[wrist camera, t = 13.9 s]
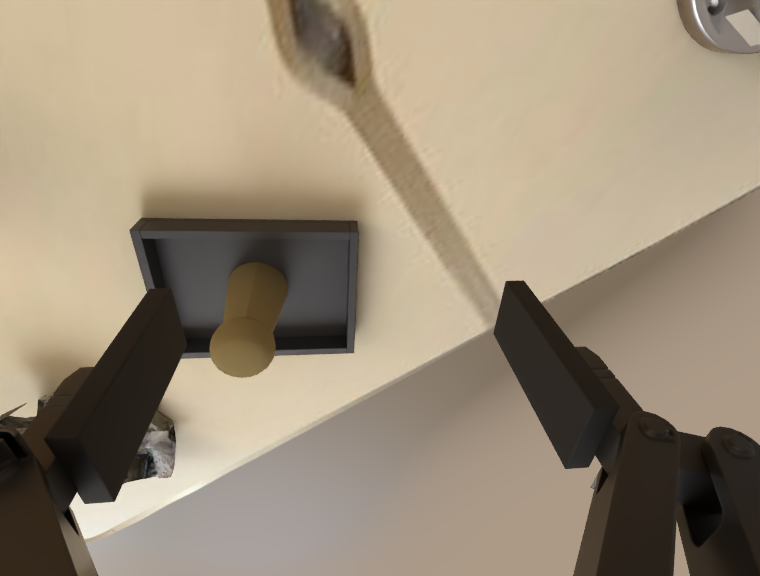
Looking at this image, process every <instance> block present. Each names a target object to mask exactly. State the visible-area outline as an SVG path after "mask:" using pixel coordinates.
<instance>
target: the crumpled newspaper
mask: <svg viewBox="0 0 760 576" xmlns="http://www.w3.org/2000/svg"><path fill="white" fill-rule="evenodd" d="M45 396H47V395H45ZM45 396H44V397H45ZM50 398H51V397H50V396H49V397H48V398H47V401H48V400H49V399H50ZM47 401H45V400H40V399H38V410H37V415H38V413H39V412H40V411H41V409H42V408H45V404H46V403H47ZM25 404H26V403H25ZM25 404H23V405H25ZM23 405H21V406H19V407H17V408H15V409H13V410H11V411H9V412H7V413H5V414H3V415H1V416H0V427H1V426H9V427H14V428H16V430H17V431H18V432H19V433H20V434H21V435H22V434H23V433H24V431H25V430H26V429H27V428H28V426H29V425H30V424H31V422H32V421H33V420H34V418H35V417H29V418H21V417H13V416H8V415H10V414H11V413H13V412H14V411H16V410H17V409H19V408H20V407H22V406H23ZM175 448H176V437H175V430H174V424H173V422H172V421H171V420H170V419H167V418H166V417H165V416H163V415H162V414H161V413H159V412H158V411H156V413H155V415H154V417H153V419H152V422H151V424H150V426H149V428H148V430H147V432H146V435H145V437H144V439H143V441H142V443H141V445H140V448H139V450H138V452H137V454H136V456H135V458H134V461H133V463H132V465H131V467H130V469H129V471H128V474H127V476H126V478H125V480H124V482H123V484H124V483H126V482H130V481H135V480H140V479H146V478H150V477H159V478H168V477H171V475H172V473H173V469H174V464H175Z"/></svg>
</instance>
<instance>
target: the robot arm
mask: <svg viewBox="0 0 760 576" xmlns="http://www.w3.org/2000/svg"><path fill="white" fill-rule="evenodd" d="M677 5H678V10H679V13H680V17H681V19H682V22H683V24H684V26H685V28H686V30H687V31H688V33H689V34H690V35H691V37H692V38H693V39H694V40H695V41H696V42H698V43H699V44H700V45H702V46H703V47H705V48H707V49H710V50H713V51H716V52H722V53H739V54H752V53H760V0H677ZM494 335H495V337H496V339H497V341H498V343H499V345H500V347H501V349H502V351H503V353H504V354H505V356H506V358H507V360H508V362H509V364H510V366H511V368H512V369H513V371H514V373H515V375H516V377H517V379H518V381H519V383H520V384H521V386H522V388H523V390H524V392H525V394H526V396H527V398H528V400H529V401H530V403H531V405H532V407H533V409H534V411H535V412H536V415H537V416H538V418H539V420H540V422H541V424H542V426H543V428H544V430H545V432H546V433H547V435H548V437H549V439H550V441H551V442H552V445H553V446H554V448H555V450H556V452H557V454H558V456H559V458H560V460H561V461H562V464H563V465H564V467H565V469H572V468H585V467H589V466H590V464H591V462H592V460H593V458H594V456H595V455H596V457H597V459H598V460H599V462H600V463H601V465H602V467H601V469H600V471H599V473H598V475H597V477H596V479H595V480H594V483H593V484H592V486H591V488H593V489H594V493H593V498H592V502H591V506H590V510H589V514H588V518H587V522H586V526H585V530H584V534H583V538H582V542H581V546H580V550H579V554H578V558H577V562H576V567H575V570H574V574H573V576H673V572H674V554H675V537H676V520H677V523H678V527H679V531H680V536H681V540H682V544H683V548H684V552H685V556H686V560H687V564H688V568H689V573H690V576H760V445H758V443H756V442H755V441H754V440H753V439H751V438H750V437H748V436H746V435H744V434H743V433H741V432H739V431H736V430H734V429H731V428H726V427H716V428H713V429H712V430H711V431H710V433H709V434H708V435H707V436H706V437H702V436H697V435H692V434H688V433H683V432H678V431H677V430H676V429H675V428H674V427H673V426H672V425H671V424H670V423H669V422H668V421H666V420H665V419H663V418H661V417H659V416H658V415H656V414H652V413H649V412H644V411H643V410H642V408H641V407H640V406H639V405H638V404H637V402H636V401H635V400H634V399H633V398H632V396H631V395H630V394H629V393H628V391H627V390H626V389H625V388H624V386H623V385H622V384H621V383H620V382H619V380H618V379H616V378H615V375H614V374H613V373H612V372H611V371H610V370H608V367H607V366H606V364H604V362H603V361H602V360H601V358H600V357H599V356H598V355H596V354H595V353H594V352H592V351H591V350H589V349H588V348H587V347H574V346H573V344H572V343H571V342H570V340H569V339H568V338H567V336H566V335H565V334H564V333H563V331H562V330H561V329H560V327H559V326H558V325H557V324H556V322H555V321H554V319H553V318H552V317H551V315H550V314H549V313H548V312H547V310H546V309H545V308H544V306H543V305H542V304H541V302H540V301H539V300H538V298H537V297H536V296H535V295H534V293H533V292H532V291H531V289H530V288H529V287H528V285H527V284H526V283H525V282H524V281H506V283H505V287H504V292H503V296H502V300H501V304H500V308H499V313H498V317H497V321H496V325H495V329H494ZM186 346H187V342H186V339H185V335H184V332H183V328H182V325H181V321H180V318H179V314H178V310H177V307H176V303H175V300H174V296H173V293H172V289H171V288H160V289H149V291H148V292H147V293H146V295H145V296H144V298H143V299H142V300H141V302H140V303H139V305H138V306H137V308H136V309H135V310H134V312H133V313H132V315H131V316H130V317H129V319H128V320H127V322H126V323H125V324H124V326H123V327H122V329H121V330H120V332H119V333H118V334H117V336H116V337H115V339H114V340H113V341H112V343H111V344H110V346H109V347H108V348H107V350H106V351H105V353H104V354H103V356H102V357H101V358H100V360H99V361H98V363H97V364H96V365H95V367H85V368H79V369H78V370H77V371H75V372H74V373H73V374H71V375H70V376H69V377H67V378H66V379H65V380H64V381H63V382H62V383H61V385H60V386H59V387H58V388H57V390H56V391H55V392H54V396H51V398H50V399H49V400H48V401H47V403H46V404H45V408H42V409H41V411H40V412H39V413H38V415H37V416H36V417H35V418H34V420H33V421H32V422H31V424H30V425H29V426H28V428H27V429H26V430H25V431H24V433H23V434H22V435H21V434H20V433H19V432H18V431H17V430H16V428H14V427H9V426H1V427H0V576H98V574H97V571H96V569H95V566H94V564H93V561H92V559H91V556H90V554H89V551H88V549H87V546H86V543H85V541H84V538H83V536H82V533H81V531H80V528H79V526H78V523H77V521H76V518H75V516H74V513H73V511H72V510H71V508H70V507H69V505H70V504H71V502H72V500H73V498H74V496H75V495H76V493H77V492H78V494H79V496H80V497H81V499H82V500H83V502H84V503H85V504H89V503H103V502H115V499H116V497H117V495H118V493H119V491H120V489H121V486H122V484H123V482H124V480H125V478H126V476H127V474H128V471H129V469H130V467H131V465H132V463H133V461H134V458H135V456H136V454H137V452H138V450H139V448H140V445H141V443H142V441H143V439H144V437H145V435H146V432H147V430H148V428H149V426H150V424H151V422H152V419H153V417H154V415H155V413H156V411H157V409H158V407H159V404H160V402H161V400H162V398H163V396H164V394H165V391H166V389H167V387H168V385H169V383H170V381H171V378H172V376H173V374H174V372H175V370H176V368H177V365H178V363H179V361H180V359H181V357H182V355H183V353H184V350H185V348H186Z"/></svg>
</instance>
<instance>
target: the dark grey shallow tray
mask: <svg viewBox="0 0 760 576" xmlns="http://www.w3.org/2000/svg"><path fill="white" fill-rule="evenodd" d="M130 234H131V237H132V241H133V244H134V248H135V251H136V255H137V258H138V262H139V265H140V269H141V272H142V276H143V279H144V283H145V286H146V290H147V292H148V291H149V289H160V288H171V289H172V293H173V296H174V300H175V303H176V307H177V310H178V314H179V318H180V321H181V325H182V328H183V332H184V335H185V339H186V342H187V346H186V348H185V350H184V353H183V355H182V357H181V359H184V358H211V355H210V341H211V338H212V336H213V334H214V333H215V331H216V330H217V328H218V327H219V326H220V325H221V324H223V318H224V309H225V300H226V292H227V284H228V278H229V276H230V275H231V273H232V271H234V270H235V269H236V268H237V267H239V266H241V265H244V264H246V263H254V262H259V263H264V264H268V265H270V266H272V267H274V268H276V269H277V270H278V271H279V272H280V273H282V274H283V276H284V278H285V279H286V281H287V285H288V293H287V297H286V300H285V303H284V305H283V308H282V310H281V313H280V316H279V318H278V321H277V323H276V326H275V328H274V331H273V335H274V339H275V345H276V348H275V354H274V356H277V355H308V354H340V353H354V341H355V316H356V292H357V267H358V242H359V231H358V225H357V221H319V220H242V219H165V218H141V219H140V220H139V221H138V222H137V223H136V224H135V225H134V226H133V227H132V228H131V229H130Z"/></svg>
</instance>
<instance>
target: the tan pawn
mask: <svg viewBox="0 0 760 576" xmlns="http://www.w3.org/2000/svg"><path fill="white" fill-rule="evenodd" d="M287 293H288V285H287V281H286V279H285V278H284V276H283V274H282V273H280V272H279V271H278V270H277V269H276V268H274V267H272V266H270V265H268V264H264V263H259V262H254V263H246V264H244V265H241V266H239V267H237V268H236V269H235V270H234V271H232V273H231V275H230V276H229V278H228V284H227V292H226V300H225V309H224V318H223V324H221V325H220V326H219V327H218V328H217V330H216V331H215V333H214V334H213V336H212V338H211V341H210V355H211V359H212V361H213V362H214V364H215V365H216V366H217V368H218V369H219V370H221V371H222V372H224V373H225V374H228V375H230V376H234V377H241V378H242V377H251V376H254V375H257V374H259V373H260V372H262V371H263V370H264V369H266V368H267V367H268V366H269V364H270V363H271V361H272V360H273V358H274V354H275V348H276V345H275V339H274V335H273V331H274V328H275V326H276V323H277V321H278V318H279V316H280V313H281V310H282V308H283V305H284V303H285V300H286V297H287Z"/></svg>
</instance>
